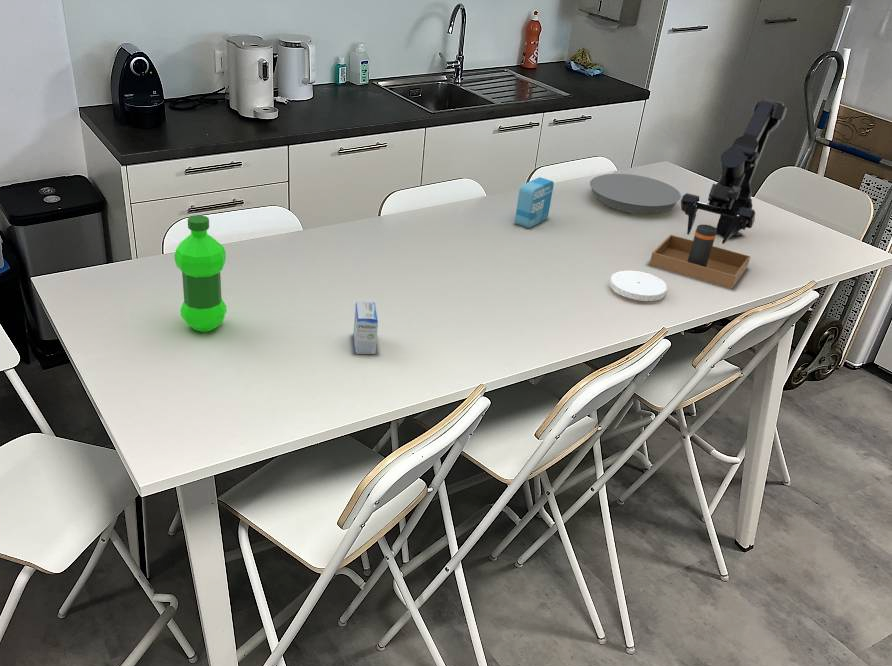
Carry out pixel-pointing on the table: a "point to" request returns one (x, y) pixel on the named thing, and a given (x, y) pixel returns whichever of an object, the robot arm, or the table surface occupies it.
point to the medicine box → (365, 328)
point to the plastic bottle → (201, 276)
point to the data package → (534, 202)
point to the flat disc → (634, 193)
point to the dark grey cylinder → (702, 245)
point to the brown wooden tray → (719, 268)
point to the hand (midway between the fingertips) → (705, 238)
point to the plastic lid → (638, 285)
